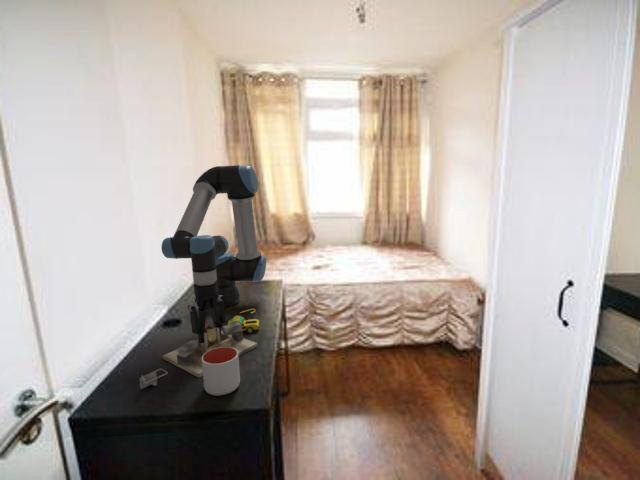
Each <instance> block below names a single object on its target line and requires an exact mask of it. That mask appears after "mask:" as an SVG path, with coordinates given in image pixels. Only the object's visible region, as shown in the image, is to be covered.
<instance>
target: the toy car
mask: <svg viewBox="0 0 640 480" xmlns="http://www.w3.org/2000/svg"><path fill="white" fill-rule="evenodd" d="M251 310H253V311H251ZM248 311H251V312H250V314H254V313H255V312H256V311H257V310H256V309H255V308H250V309H247V310H243V311H241V312H239V314H241V313H246V312H248ZM245 316H246V317H245ZM245 316H241V315H235V316H233V317H232V318H231V319H229V320H228V321H227V325H230V324H233V323H237V322H239V323H240V324H241V327H242V332H243V331H246V332H247V333H249V334H251V333H253V332H254V331H256V330H259V329H260V320H259V319H257V318H254V319H253V318H252V319H247V317H248V316H247V314H246V315H245Z"/></svg>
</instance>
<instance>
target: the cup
mask: <svg viewBox="0 0 640 480" xmlns="http://www.w3.org/2000/svg"><path fill="white" fill-rule="evenodd" d="M239 357H240V356H238V351H237V350H236V349H234V348H231V347H219V348H215V349H212V350H209V351H208V352H206V353H205V354H204V355H203V356H202V369H203V376H202V379H203V388H204V390H205V391H206V393H207V394H208V395H211V396H218V397H219V396H225V395H228V394H231V393H232V392H234V391H235V390H236V389H238V387H240V383H241V374H240V373H241V372H240V360H239Z"/></svg>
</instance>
